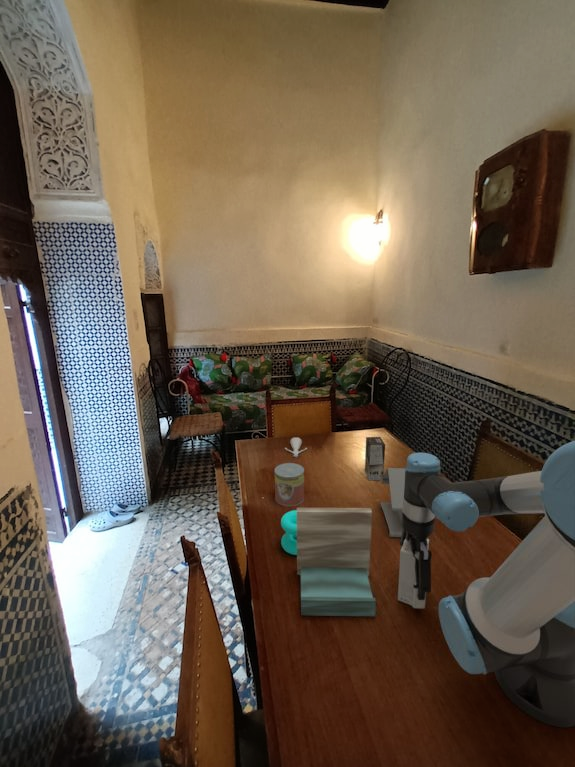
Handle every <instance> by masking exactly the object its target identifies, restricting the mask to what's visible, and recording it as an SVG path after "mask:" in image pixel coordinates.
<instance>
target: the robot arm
mask: <svg viewBox="0 0 575 767" xmlns="http://www.w3.org/2000/svg"><path fill="white" fill-rule="evenodd" d="M405 468H406V469H405V485H404V496H403V509H402V510H403V513H402V527H403V531H402V535H401V537H400V542H399V544H400V546H401V547H402V546H403V544H404V540H405V539H406V540H410V545H411V550H412V553H413V557H415V556H414V554H415V551H416V552H419V553H418V555H419V560H418V559H417V558H416V557H415V575H416V584H414V585H413V587H414V595H413V606H412V608H413V609H419V608H421V609H425V607H426V599H427V598H426V597H427V593H432V570H431V568H432V564H431V563H432V555H433V554H432V550H429V549H428V550H427V539H428V537H430V536H431V535H433V534H434V531H435V522H436V520H435V519H437V520H438V521H440V522H442V524H443V525H445V527H446V528H448V529H449V530H451V531H453V532H464V531H467V529H469V528H472V527H473V526H474V525H475V524H476V523H477V521H478V518H483V517H484V518H485V517H490V516H491V517H492V516H499V515H521V514H544V517H542V519H541V520H540V521H539V522H538V523H537V524H536V525H535V526H534V527H533V529H531V531H530V532H529V533H528V535H526V537H525V538H524V539H523V540H522V541H521V542H520V543H519V544H518V546H517V547H516V548H515V549H514V550H513V551H512V552H511V553H510V555H509V556H508V557H507V558H506V559H505V560H504V561H503V563H502V564H501V565H500V566H499V567H498V569H497V570H496V571H495V572H494V573H493V574H492V575H491V576H490V577H480V578H477V579H475V580H473V582H471V583H470V584H469V585H468V586H467V588H466V589H465V590H463V591H464V592H462V593H461V594H456V595H448V596H445V597H443V598H441V599H440V600H439V602H438V608H437V609H438V611H437V612H438V617H439V622H440V626H441V630H442V633H443V636H444V639H445V642H446V643H447V645H448V649H449V650H450V652H451V654H452V656H453V657H454V659H455V661H456V662H457V663H458V665H459V666H460V667H461V668H462V669H463V670H464V672H467V673H468V674H470V675H480V674H483V675H486V674H488V673H492V672H493V673H494V677H495V679H496V681H497V683H498V685H499V687H500V688H501V690H502V691H503V693H504V694H505V696H507V698H509V700H510V701H511V702H512V704H514V705H515V706H516V707H518V708H519V709H520V710H521V711H522V712H524V713H525V714H527V715H528V716H530V717H531V718H533V719H535V720H536V721H539V722H541V723H543V724H546V725H548V726H552V727H557V728H572V727H574V726H575V440H573V441H570V442H568V443H565V444H563V445H561V446H560V447H558V448H557V449H555V450H554V451H553V452H552V453H551V454H550V455H549V457H547V459H546V460H545V463H544V464H543V467H542V468H541V469H542V470H537V471H530V472H526V473H521V474H520V473H519V474H514V475H513V474H512V475H506V476H500V477H493V478H491V477H490V478H485V479H477V480H476V479H475V480H468V481H466V480H464V481H456V482H452V481H450V480H448V478H446V477H445V476H444V475H443V474H442V473H440V472H441V460H440V459H439V458H438V457H437V456H435V455H434V454H431V453H428V452H413V453H411V454H409V455H408V457H407V458H406V466H405Z"/></svg>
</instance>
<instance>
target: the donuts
mask: <svg viewBox="0 0 575 767" xmlns="http://www.w3.org/2000/svg"><path fill="white" fill-rule="evenodd" d="M280 525H281V528H282V529H283V531H284V532H285V533H284V534H283V535H282V537H281V540H280V541H281V542H280V544H281V547H282V548H283V550H284V551H285V552H286V553H288V554H290V555H293V556H297V509H296V510H290V511H288V512H286V513H284V514H283V515H282V517H281V520H280Z"/></svg>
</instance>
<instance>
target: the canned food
mask: <svg viewBox="0 0 575 767" xmlns="http://www.w3.org/2000/svg"><path fill="white" fill-rule="evenodd" d="M304 500H305V468H304V467H303V466H302V465H300V464H298V463H295V462H285V463H280V464H279V465H277V466H276V467H275V468H274V501H275V503H277V504H278V505H281V506H283V507H296V506H299V505H300V504H302V503H303V502H304Z"/></svg>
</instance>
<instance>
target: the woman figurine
mask: <svg viewBox="0 0 575 767" xmlns="http://www.w3.org/2000/svg"><path fill="white" fill-rule="evenodd" d="M302 442H303V441H302V439H301V437H291V439H290V441H289V443H290V446H291V448H292V450H290V449H288V448H287V447H284V450H285V451H288V452H290V453H291V454H292V455H293V456H292V457H293V458H295V459H296V458H298V457H299V454H300V453H301V452H304V451H305V450H308V447H305V448H304V449H302V450H300V449H301V447H302V444H303V443H302Z"/></svg>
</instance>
